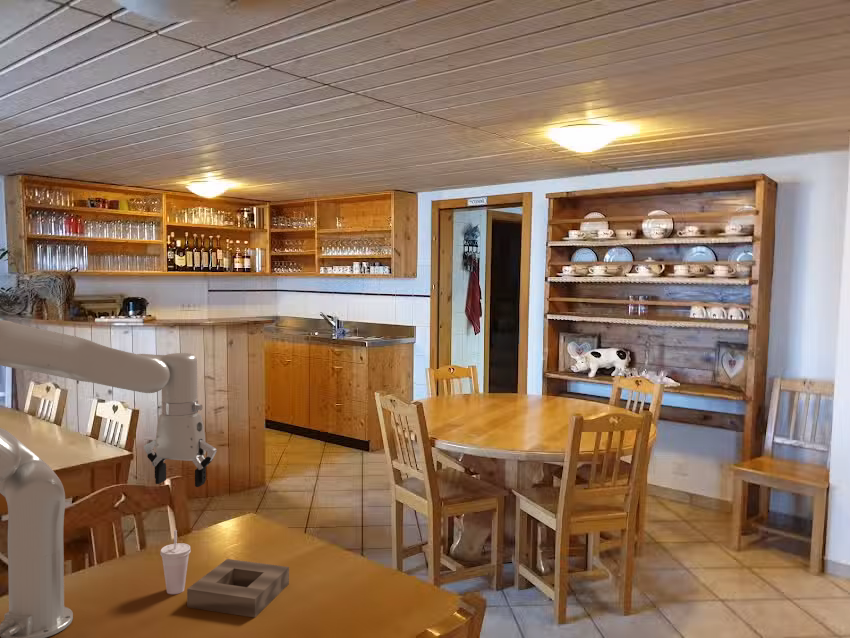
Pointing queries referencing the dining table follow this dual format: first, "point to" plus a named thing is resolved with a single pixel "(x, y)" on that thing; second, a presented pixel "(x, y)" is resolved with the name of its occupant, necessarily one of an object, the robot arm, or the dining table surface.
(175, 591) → the smoothie
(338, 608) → the dining table surface
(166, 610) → the dining table surface
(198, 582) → the bottle stand
